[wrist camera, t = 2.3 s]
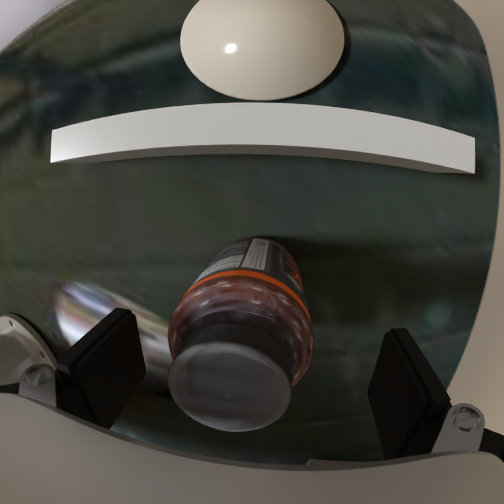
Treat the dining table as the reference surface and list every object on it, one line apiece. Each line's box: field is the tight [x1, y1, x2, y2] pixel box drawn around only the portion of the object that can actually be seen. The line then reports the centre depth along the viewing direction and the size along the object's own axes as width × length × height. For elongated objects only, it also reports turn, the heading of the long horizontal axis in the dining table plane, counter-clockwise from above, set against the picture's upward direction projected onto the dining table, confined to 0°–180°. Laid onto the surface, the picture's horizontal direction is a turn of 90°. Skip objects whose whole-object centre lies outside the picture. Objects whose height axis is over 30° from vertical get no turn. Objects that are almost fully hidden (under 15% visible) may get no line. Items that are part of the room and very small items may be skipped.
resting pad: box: [180, 0, 344, 102], centre depth 14 cm, size 11×11×1 cm
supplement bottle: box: [168, 236, 314, 432], centre depth 13 cm, size 6×6×11 cm
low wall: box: [51, 103, 475, 174], centre depth 14 cm, size 2×24×5 cm, turn 89°
